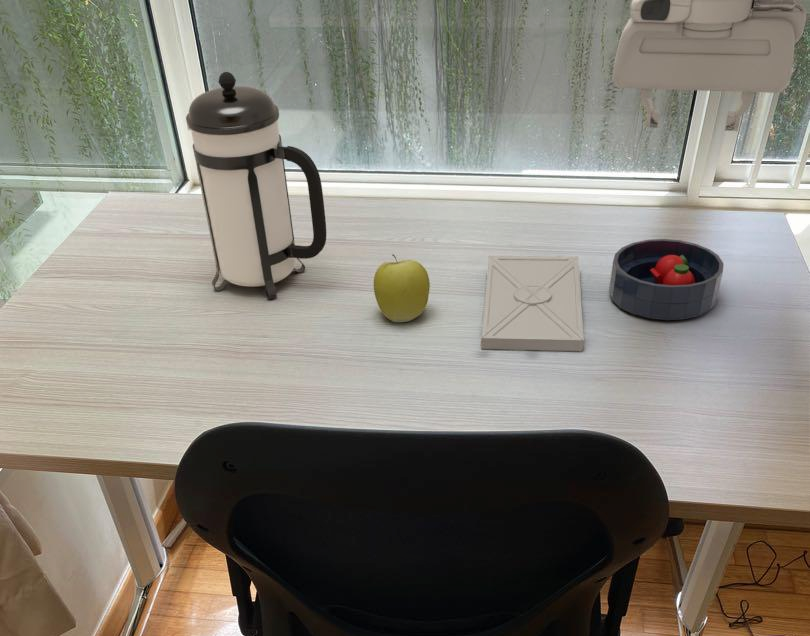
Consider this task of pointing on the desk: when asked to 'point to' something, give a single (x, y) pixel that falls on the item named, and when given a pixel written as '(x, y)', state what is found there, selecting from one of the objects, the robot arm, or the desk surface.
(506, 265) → the envelope
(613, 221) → the desk surface
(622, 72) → the robot arm
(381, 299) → the apple
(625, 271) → the bowl
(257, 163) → the coffee press
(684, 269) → the toy tomato
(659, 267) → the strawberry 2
